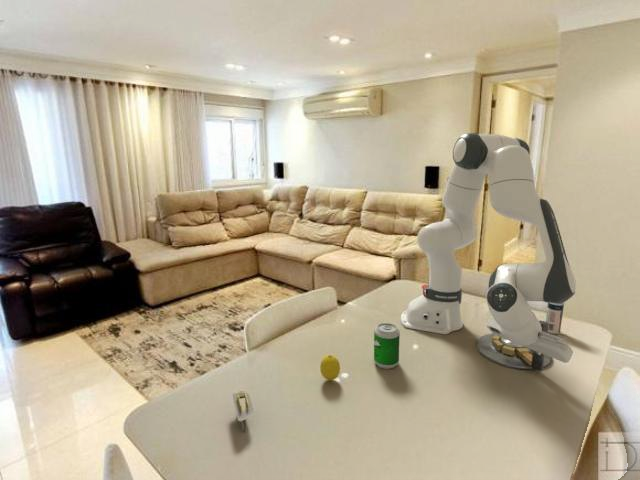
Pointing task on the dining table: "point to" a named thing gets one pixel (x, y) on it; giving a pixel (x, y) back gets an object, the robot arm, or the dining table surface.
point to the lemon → (330, 367)
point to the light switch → (241, 414)
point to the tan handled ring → (523, 350)
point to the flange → (501, 358)
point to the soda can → (386, 345)
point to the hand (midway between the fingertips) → (536, 350)
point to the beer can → (554, 317)
